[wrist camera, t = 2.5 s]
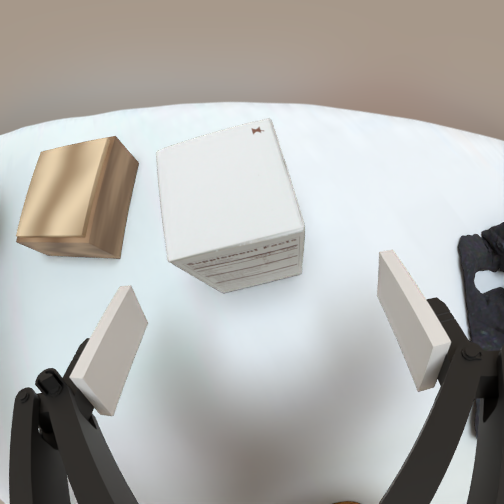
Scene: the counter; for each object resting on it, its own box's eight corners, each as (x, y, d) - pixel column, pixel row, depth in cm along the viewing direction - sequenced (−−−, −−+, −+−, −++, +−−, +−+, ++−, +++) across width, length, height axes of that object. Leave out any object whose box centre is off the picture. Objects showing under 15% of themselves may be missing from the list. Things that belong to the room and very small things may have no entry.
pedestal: (48, 255, 31) (12, 240, 26) (68, 172, 34) (39, 149, 28) (119, 258, 30) (84, 240, 24) (138, 163, 33) (112, 132, 27)
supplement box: (207, 219, 30) (153, 146, 18) (284, 200, 29) (273, 113, 17) (220, 296, 28) (163, 263, 15) (303, 277, 27) (309, 228, 15)
